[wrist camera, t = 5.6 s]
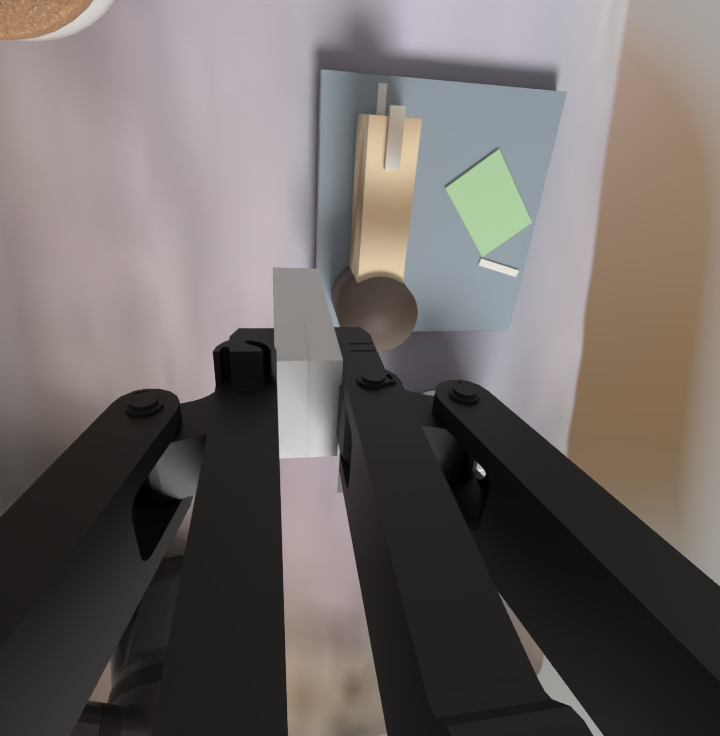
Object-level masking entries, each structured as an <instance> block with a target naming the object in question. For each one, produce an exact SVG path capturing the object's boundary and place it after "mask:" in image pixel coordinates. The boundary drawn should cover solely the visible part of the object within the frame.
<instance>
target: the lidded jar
mask: <svg viewBox="0 0 720 736" xmlns="http://www.w3.org/2000/svg"><path fill="white" fill-rule="evenodd" d="M114 1H115V0H0V39H1V40H17V41H31V42H35V41H44V40H53V39H60V38H64V37H67V36H70V35H73V34H76V33H78V32H80V31H82V30H83V29H85V28H87V27H89V26H90V25H92V24H93V23H95V22H96V21H97V20H98V19H99V18H100V17H101V16H103V15H104V14H105V13H106V12H107V11H108V9H109V8H110V6H111V5H112V4H113V2H114Z"/></svg>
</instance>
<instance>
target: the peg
mask: <svg viewBox="0 0 720 736" xmlns="http://www.w3.org/2000/svg"><path fill="white" fill-rule="evenodd" d="M405 112H406V106H396V105H389V115H388V116H384V115H371V114H358V115H357V133H356V151H355V168H354V186H353V203H352V221H351V238H350V256H349V266H347V267H346V268H345V269H344V270H343V271H342V272H341V273H340V274H339V275H338V277H337V278H336V280H335V282H334V285H333V288H332V294H331V296H332V304H333V307H334V310H335V313H336V317H337V320H338V323H339V326H340V327H361V328H362V329H364V330H365V331H366V332H368V333H369V334H370V335H371V338H372V340H373V342H374V345H375V347H376V349H377V352H378V353H382V352H386V351H390V350H392V349H394V348H396V347H398V346H399V345H401V344H402V343H403V342H404V341H405V340H406V339H407V338H408V337H409V336H410V335H411V333H412V332H413V330H414V328H415V325H416V322H417V317H418V308H417V303H416V300H415V298H414V296H413V294H412V293H411V292H410V290H409V289H408V288H407V286H406V285H405V284H404V282H403V277H404V269H405V260H406V252H407V243H408V235H409V226H410V217H411V209H412V200H413V192H414V183H415V175H416V166H417V157H418V149H419V140H420V132H421V123H422V119H419V118H409V117H405Z"/></svg>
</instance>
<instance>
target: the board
mask: <svg viewBox="0 0 720 736" xmlns="http://www.w3.org/2000/svg"><path fill="white" fill-rule="evenodd" d="M566 93H567V92H563V91H552V90H541V89H530V88H519V87H508V86H498V85H487V84H476V83H465V82H454V81H443V80H432V79H422V78H411V77H400V76H389V75H378V74H367V73H357V72H346V71H335V70H324V69H321V70H320V74H319V121H318V169H317V217H316V264H315V269H318V273H319V276H320V280H321V283H322V287H323V290H324V294H325V298H326V301H327V305H328V308H329V312H330V315H331V319H332V322H333V326H334V327H340V326H339V323H338V320H337V317H336V313H335V310H334V307H333V304H332V296H331V294H332V288H333V285H334V282H335V280H336V278H337V277H338V275H339V274H340V273H341V272H342V271H343V270H344V269H345V268H346V267H347V266H349V256H350V238H351V221H352V203H353V186H354V168H355V151H356V133H357V115H358V114H371V115H384V116H388V115H389V105H396V106H406V112H405V117H409V118H419V119H422V123H421V132H420V140H419V149H418V157H417V166H416V175H415V183H414V192H413V200H412V209H411V217H410V226H409V235H408V243H407V252H406V260H405V269H404V277H403V282H404V284H405V285H406V286H407V288H408V289H409V290H410V292H411V293H412V294H413V296H414V298H415V300H416V303H417V308H418V317H417V322H416V325H415V328H414V330H413V332H427V331H508V330H509V326H510V322H511V318H512V314H513V310H514V306H515V302H516V298H517V294H518V289H519V285H520V281H521V277H522V273H523V269H524V265H525V261H526V257H527V253H528V249H529V244H530V240H531V236H532V232H533V228H534V224H535V220H536V216H537V212H538V208H539V204H540V199H541V195H542V191H543V187H544V183H545V179H546V175H547V171H548V167H549V163H550V159H551V155H552V150H553V146H554V142H555V138H556V134H557V130H558V126H559V122H560V118H561V114H562V110H563V105H564V101H565V97H566Z"/></svg>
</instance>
